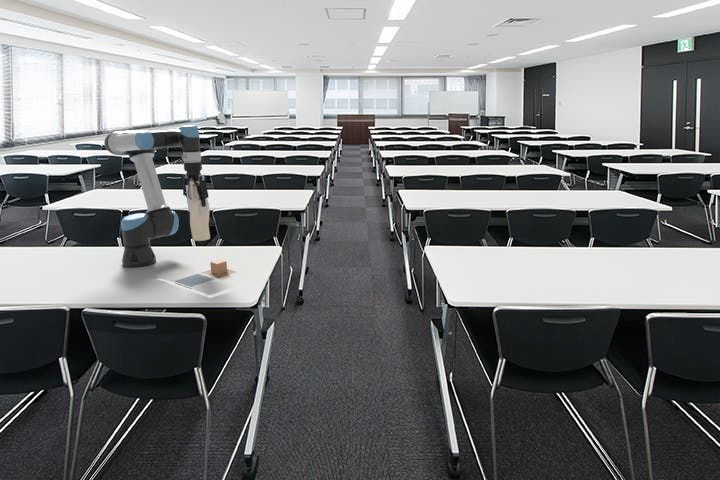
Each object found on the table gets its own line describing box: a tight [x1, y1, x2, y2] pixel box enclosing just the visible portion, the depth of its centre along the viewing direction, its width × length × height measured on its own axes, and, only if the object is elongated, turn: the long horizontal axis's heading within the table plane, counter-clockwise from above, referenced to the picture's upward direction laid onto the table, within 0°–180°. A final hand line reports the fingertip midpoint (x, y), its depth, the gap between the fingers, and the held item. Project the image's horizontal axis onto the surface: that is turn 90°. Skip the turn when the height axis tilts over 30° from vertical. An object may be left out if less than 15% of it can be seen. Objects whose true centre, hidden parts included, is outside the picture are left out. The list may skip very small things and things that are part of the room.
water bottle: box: [186, 178, 211, 242], centre depth 233 cm, size 10×9×28 cm
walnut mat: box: [201, 268, 237, 278], centre depth 235 cm, size 12×10×1 cm
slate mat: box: [174, 273, 215, 290], centre depth 225 cm, size 12×12×1 cm
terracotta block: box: [209, 258, 228, 275], centre depth 234 cm, size 5×5×5 cm
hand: (197, 212), depth 234 cm, fingers closed on water bottle, 8 cm apart
